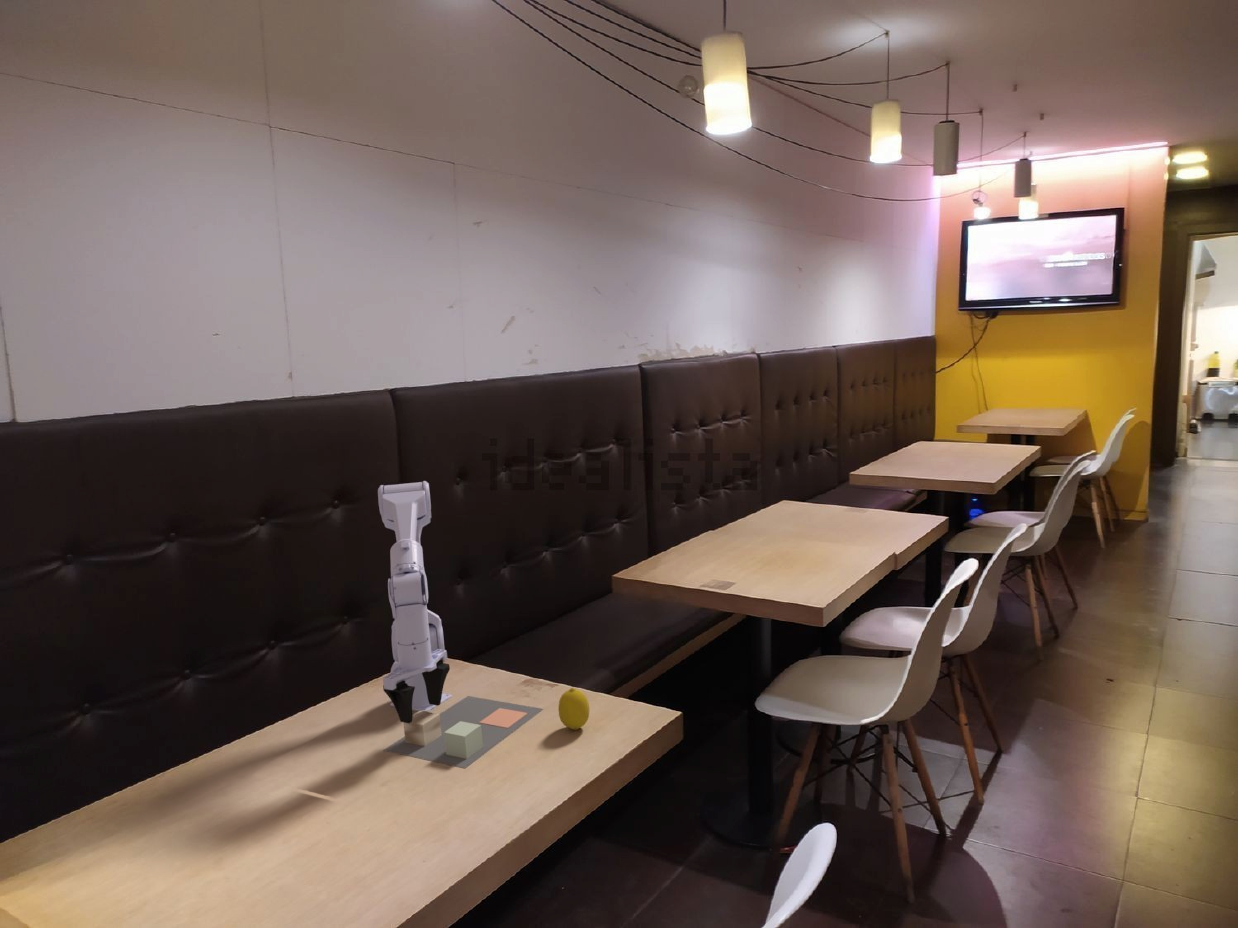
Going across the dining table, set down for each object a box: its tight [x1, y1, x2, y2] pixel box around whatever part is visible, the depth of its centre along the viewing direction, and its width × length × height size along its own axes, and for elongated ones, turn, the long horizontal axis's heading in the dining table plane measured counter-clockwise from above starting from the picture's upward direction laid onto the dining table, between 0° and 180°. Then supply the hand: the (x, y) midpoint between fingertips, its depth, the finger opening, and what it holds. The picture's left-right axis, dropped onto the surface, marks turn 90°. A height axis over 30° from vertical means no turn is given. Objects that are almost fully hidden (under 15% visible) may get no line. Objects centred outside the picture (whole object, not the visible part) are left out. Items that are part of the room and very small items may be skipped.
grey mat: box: [383, 695, 544, 769], centre depth 153 cm, size 18×24×1 cm
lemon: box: [558, 687, 590, 731], centre depth 149 cm, size 6×6×8 cm
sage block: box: [444, 721, 483, 759], centre depth 144 cm, size 4×4×4 cm
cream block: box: [402, 711, 442, 746], centre depth 150 cm, size 4×4×4 cm
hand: (420, 712), depth 149 cm, fingers open, 7 cm apart
